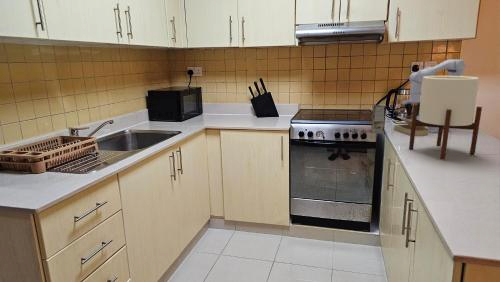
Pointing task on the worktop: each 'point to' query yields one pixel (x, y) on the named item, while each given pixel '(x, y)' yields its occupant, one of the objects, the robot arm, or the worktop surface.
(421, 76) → the robot arm
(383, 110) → the coffee box
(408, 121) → the carton lid
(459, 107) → the plant pot with stand
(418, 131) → the tan tray
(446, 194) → the worktop surface
